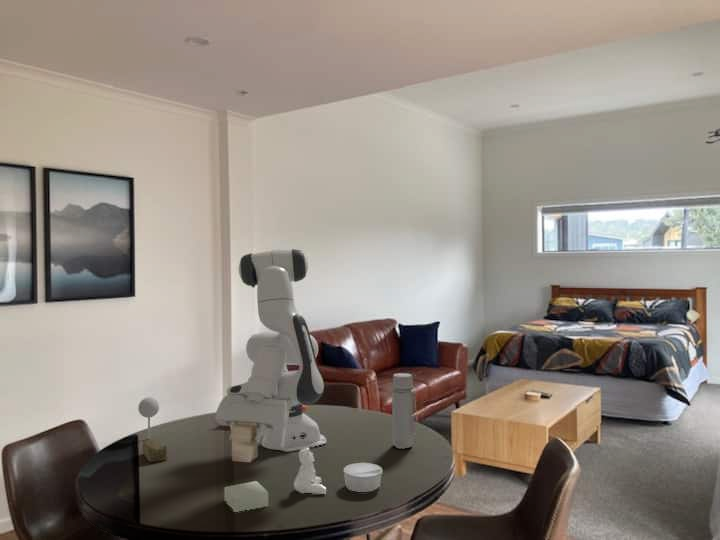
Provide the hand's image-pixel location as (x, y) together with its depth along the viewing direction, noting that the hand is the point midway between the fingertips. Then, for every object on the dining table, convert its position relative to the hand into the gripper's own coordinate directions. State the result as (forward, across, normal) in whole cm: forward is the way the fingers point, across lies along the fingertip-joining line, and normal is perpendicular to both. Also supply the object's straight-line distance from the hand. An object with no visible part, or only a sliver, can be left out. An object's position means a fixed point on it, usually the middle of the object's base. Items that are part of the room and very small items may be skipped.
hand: (243, 440), depth 158 cm
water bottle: (-29, -32, -53) cm, 69 cm away
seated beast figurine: (+2, -13, -22) cm, 26 cm away
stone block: (-7, +45, -32) cm, 56 cm away
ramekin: (-2, -27, -26) cm, 38 cm away
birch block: (+3, 0, -4) cm, 5 cm away
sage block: (+12, 0, -13) cm, 17 cm away
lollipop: (-20, +59, -43) cm, 76 cm away
